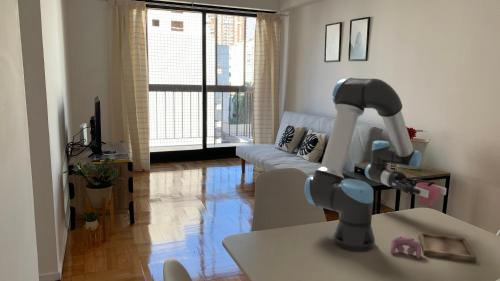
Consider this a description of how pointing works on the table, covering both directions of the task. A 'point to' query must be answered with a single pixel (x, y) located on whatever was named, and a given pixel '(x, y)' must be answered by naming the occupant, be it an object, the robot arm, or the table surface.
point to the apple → (433, 192)
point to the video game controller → (407, 241)
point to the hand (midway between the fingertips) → (436, 193)
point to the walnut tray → (446, 247)
